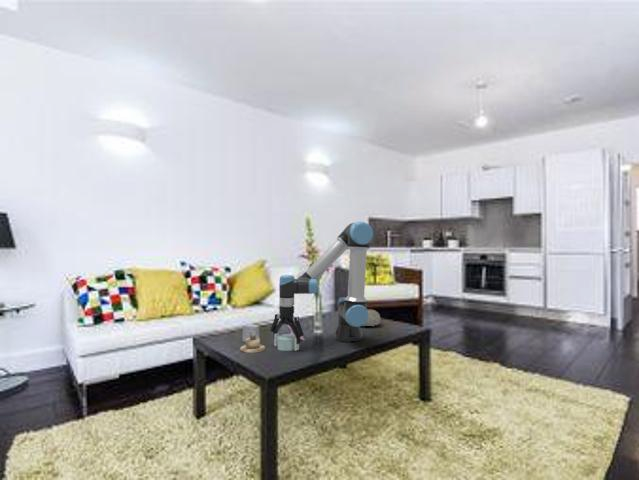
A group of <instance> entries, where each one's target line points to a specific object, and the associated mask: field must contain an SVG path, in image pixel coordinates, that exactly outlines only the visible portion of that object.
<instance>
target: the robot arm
mask: <svg viewBox="0 0 639 480" xmlns="http://www.w3.org/2000/svg"><path fill="white" fill-rule="evenodd" d="M373 237H374V231H373V228H372V226H371V225H370V224H369V223H367V222H365V221H356V222H351V223H350V224H348V225H347V226H346V227H345V228H344V229H343V230H342V232H341V233H340V234H339V235H338V236H337V238H336V240H335V241H334V243H332V244H331V246H330V247H328V248H327V249H326V251H325V252H323V253H322V255H320V257H318V258H317V259H316V261H314V262H313V263H312V265H310V266H309V268H308V269H306V271H304V273H302V274H301V275H300V276H299V277H297V278H295V276H294V275H293V274H283V275H280V276H279V285H278V286H279V288H278V289H279V290H278V291H279V293H278V294H279V298H278V299H279V308H278V310H279V311H278V312H279V313H276V314H274V319H273V322H272V325H271V327H270V332H272V333H273V340H274V347H275V348H276V347H278V336H279V335H280V332H279V331H280V329H281V328H282V326H283V325H287V326H288V325H289V326H290V327H291V329H292V330H293V332H294V334H295V336H296V337H295V349H294V351H299V350H300V344H301V339H300V337H301V336H303V337H304V331H303V327H302V326H301V322H300V317H299V316H294V314H295V306H294V305H295V295H298V294H299V295H300V294H301V295H304V294H306V295H312V294H313V295H314V294H316V293H318V290H319V285H318V284H319V283H318V279H319V278H320V277H321V276H322V275H323V274H324V273H325V272H326V271H327V270H328V269H329V268H330V267H331V266H333V264H334V263H335V262H336V261H337V260H338V259H339V258H340V257H341V256H342V255H343V254H344V253H345V252H346V250H347V251H348V250H349V264H348V265H349V267H348V283H347V284H348V285H347V296H346V297H339V298H338V301H337V315H338V316H337V322H338V323H337V327H336V330H335V333H334V339H335V340H337V341H340V342H343V341H344V342H345V343H346V342H347V343H351V341H356V342H360V341H362V340H363V333H362V330H361V327H363V326H362V325H364V324H365V323H366V322H367V320H368V317H369V314H368V310H369V309H368V308H367V307H368V305H367V304H368V300H367V299H366V297H365V287H366V271H367V270H366V269H367V254H368V253H367V251H369V250H370V247H371V241H372V239H373ZM367 309H368V310H367ZM361 339H362V340H361ZM359 340H360V341H359ZM344 342H343V343H344Z"/></svg>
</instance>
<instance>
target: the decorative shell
mask: <svg viewBox="0 0 639 480" xmlns="http://www.w3.org/2000/svg"><path fill="white" fill-rule="evenodd" d="M366 309H367V310H368V314H369V317H368V320H367V322H366V323H365V324H364V325H362V326H361V327H365V326H372V327H375V325H376V326H379V324H380V323H381V320H382V319H381V315H380V313H379V312H378V311H376V310H375V309H371V308H370V309H369V308H366Z"/></svg>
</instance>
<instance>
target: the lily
mask: <svg viewBox="0 0 639 480" xmlns="http://www.w3.org/2000/svg"><path fill="white" fill-rule="evenodd" d="M287 327H288V328H289V330H290V333H289V334H292V335H295V334H294V332H293V330H292V329H291V327H290V326H289V325H287ZM300 340H302V341H305V340H306V339H305V338H304V335H303V336H301V337H300Z"/></svg>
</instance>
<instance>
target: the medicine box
mask: <svg viewBox="0 0 639 480" xmlns="http://www.w3.org/2000/svg"><path fill="white" fill-rule="evenodd" d="M250 331H256V338H259V339H260V325H258V324H244V325H242V342H243V343H246V339H247V338H250Z"/></svg>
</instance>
